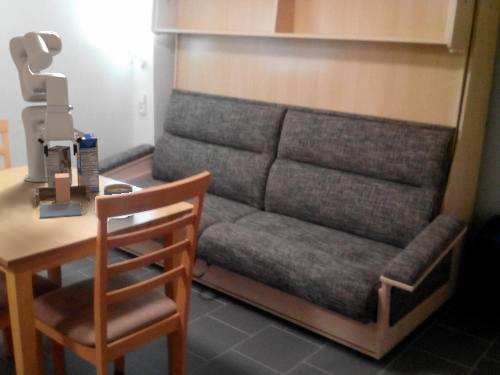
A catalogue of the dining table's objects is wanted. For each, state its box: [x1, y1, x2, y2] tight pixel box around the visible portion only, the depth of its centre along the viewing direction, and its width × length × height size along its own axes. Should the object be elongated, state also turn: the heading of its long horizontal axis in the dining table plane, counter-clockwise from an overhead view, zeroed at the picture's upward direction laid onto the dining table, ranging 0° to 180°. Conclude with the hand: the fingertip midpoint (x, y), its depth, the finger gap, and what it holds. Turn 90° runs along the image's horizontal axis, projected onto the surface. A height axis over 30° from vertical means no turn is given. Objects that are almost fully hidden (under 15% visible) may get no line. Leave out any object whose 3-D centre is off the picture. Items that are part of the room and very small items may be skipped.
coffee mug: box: [103, 183, 134, 196], centre depth 191 cm, size 13×10×10 cm
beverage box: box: [75, 133, 100, 194], centre depth 218 cm, size 7×11×22 cm, turn 25°
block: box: [55, 173, 72, 204], centre depth 204 cm, size 6×5×10 cm
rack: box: [34, 185, 91, 206], centre depth 206 cm, size 10×19×4 cm, turn 109°
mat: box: [39, 201, 83, 219], centre depth 194 cm, size 14×14×1 cm
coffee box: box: [45, 145, 73, 187], centre depth 223 cm, size 9×6×16 cm
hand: (61, 155), depth 200 cm, fingers open, 9 cm apart
